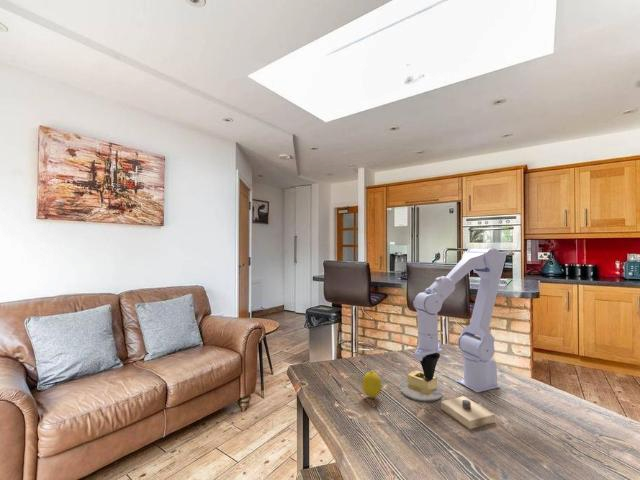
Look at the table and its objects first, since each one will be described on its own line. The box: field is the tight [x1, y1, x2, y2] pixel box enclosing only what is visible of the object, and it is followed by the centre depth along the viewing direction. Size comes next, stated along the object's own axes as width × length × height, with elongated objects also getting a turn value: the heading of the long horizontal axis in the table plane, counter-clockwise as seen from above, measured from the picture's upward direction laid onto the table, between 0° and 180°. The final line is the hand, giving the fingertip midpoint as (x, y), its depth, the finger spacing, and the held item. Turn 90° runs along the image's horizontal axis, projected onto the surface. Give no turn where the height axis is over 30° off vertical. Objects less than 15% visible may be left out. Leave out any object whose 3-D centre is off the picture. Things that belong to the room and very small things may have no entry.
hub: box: [400, 377, 443, 403], centre depth 94 cm, size 12×12×4 cm
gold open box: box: [406, 369, 438, 396], centre depth 93 cm, size 5×7×4 cm
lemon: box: [362, 370, 382, 399], centre depth 90 cm, size 6×6×8 cm
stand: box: [440, 395, 495, 430], centre depth 80 cm, size 8×10×4 cm
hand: (429, 377), depth 92 cm, fingers closed
